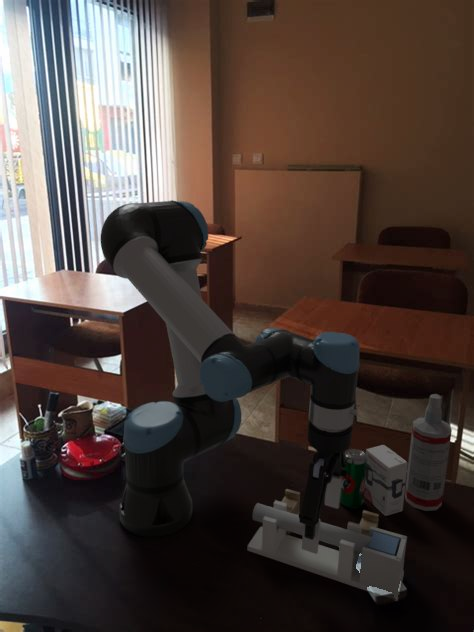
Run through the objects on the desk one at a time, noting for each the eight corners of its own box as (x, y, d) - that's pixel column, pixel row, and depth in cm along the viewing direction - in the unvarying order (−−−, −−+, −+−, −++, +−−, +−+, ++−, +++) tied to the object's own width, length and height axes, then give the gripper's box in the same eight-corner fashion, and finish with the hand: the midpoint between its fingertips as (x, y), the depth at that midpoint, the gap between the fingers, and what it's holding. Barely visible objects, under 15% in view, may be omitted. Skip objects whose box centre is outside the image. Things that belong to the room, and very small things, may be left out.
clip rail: (246, 551, 103) (247, 514, 100) (260, 529, 108) (261, 494, 106) (397, 602, 91) (401, 561, 89) (403, 575, 97) (408, 536, 95)
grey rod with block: (251, 525, 102) (251, 510, 101) (260, 512, 106) (260, 498, 105) (392, 570, 91) (394, 554, 90) (397, 553, 95) (398, 538, 94)
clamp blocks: (275, 530, 109) (276, 503, 107) (285, 514, 113) (286, 488, 112) (370, 559, 101) (372, 531, 99) (376, 541, 106) (378, 514, 104)
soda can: (363, 511, 115) (367, 461, 111) (339, 508, 116) (342, 458, 112) (362, 497, 119) (367, 449, 116) (339, 494, 120) (343, 446, 117)
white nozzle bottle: (443, 513, 114) (458, 405, 107) (407, 508, 116) (419, 402, 109) (437, 491, 122) (450, 389, 115) (403, 487, 123) (414, 387, 116)
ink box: (360, 494, 120) (364, 447, 117) (379, 489, 122) (383, 443, 119) (384, 517, 113) (389, 467, 110) (403, 511, 115) (409, 462, 112)
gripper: (331, 464, 80) (321, 580, 86) (368, 398, 101) (357, 495, 107) (284, 451, 83) (277, 564, 89) (329, 390, 104) (321, 485, 111)
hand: (321, 526), depth 98 cm, fingers open, 13 cm apart
